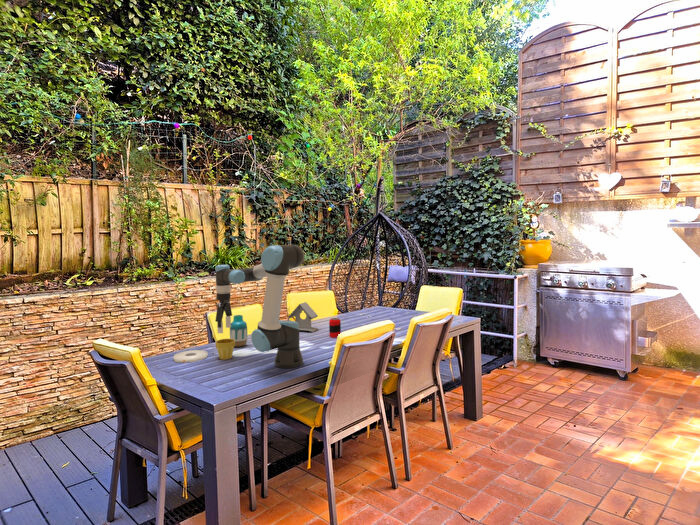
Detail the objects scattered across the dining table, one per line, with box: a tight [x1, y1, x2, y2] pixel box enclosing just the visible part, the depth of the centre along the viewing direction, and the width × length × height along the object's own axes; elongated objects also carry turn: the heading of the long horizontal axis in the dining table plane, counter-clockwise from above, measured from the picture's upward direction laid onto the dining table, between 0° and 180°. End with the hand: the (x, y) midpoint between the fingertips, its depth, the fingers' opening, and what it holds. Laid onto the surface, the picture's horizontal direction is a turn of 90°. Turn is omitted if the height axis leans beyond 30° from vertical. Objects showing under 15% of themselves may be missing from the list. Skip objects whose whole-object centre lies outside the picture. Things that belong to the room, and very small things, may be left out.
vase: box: [229, 314, 248, 348], centre depth 266 cm, size 11×11×19 cm
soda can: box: [328, 317, 342, 339], centre depth 287 cm, size 8×8×12 cm
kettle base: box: [173, 349, 208, 364], centre depth 243 cm, size 18×18×2 cm
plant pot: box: [215, 338, 236, 360], centre depth 242 cm, size 10×10×10 cm
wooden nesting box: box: [287, 301, 319, 334], centre depth 306 cm, size 18×10×20 cm, turn 68°
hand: (224, 330), depth 241 cm, fingers open, 13 cm apart
